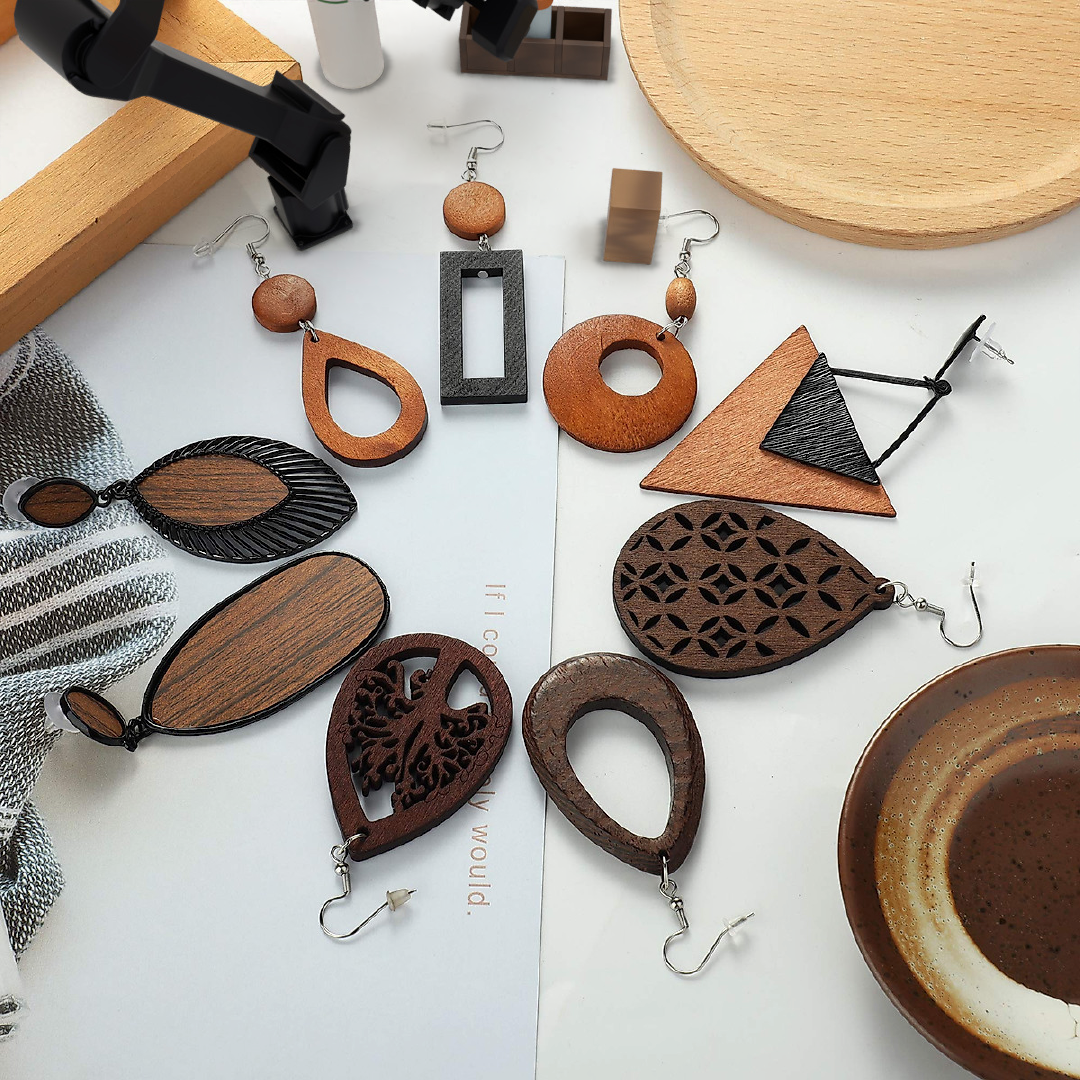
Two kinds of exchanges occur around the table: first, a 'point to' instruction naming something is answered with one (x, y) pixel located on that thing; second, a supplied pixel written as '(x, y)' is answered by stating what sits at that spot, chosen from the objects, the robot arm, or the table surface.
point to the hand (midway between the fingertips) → (496, 9)
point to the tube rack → (547, 47)
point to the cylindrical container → (347, 41)
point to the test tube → (541, 21)
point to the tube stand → (632, 215)
